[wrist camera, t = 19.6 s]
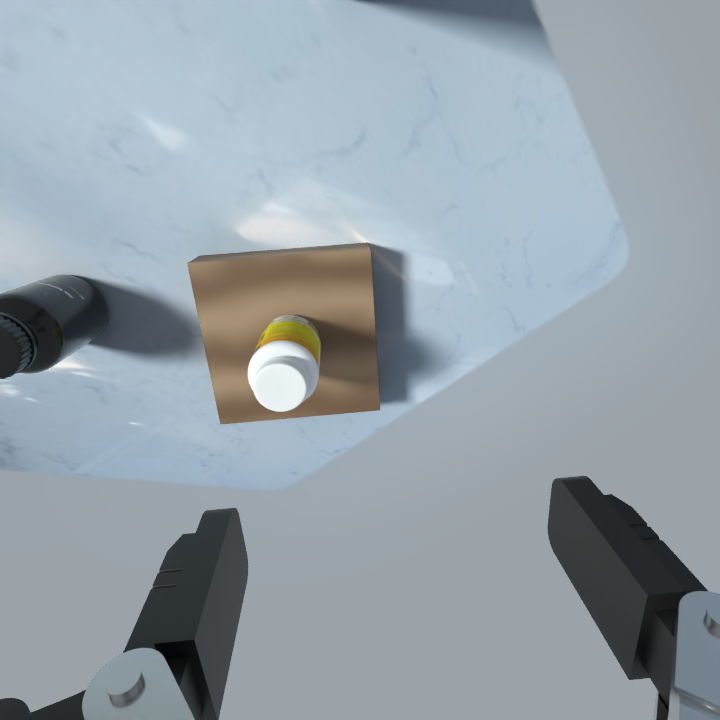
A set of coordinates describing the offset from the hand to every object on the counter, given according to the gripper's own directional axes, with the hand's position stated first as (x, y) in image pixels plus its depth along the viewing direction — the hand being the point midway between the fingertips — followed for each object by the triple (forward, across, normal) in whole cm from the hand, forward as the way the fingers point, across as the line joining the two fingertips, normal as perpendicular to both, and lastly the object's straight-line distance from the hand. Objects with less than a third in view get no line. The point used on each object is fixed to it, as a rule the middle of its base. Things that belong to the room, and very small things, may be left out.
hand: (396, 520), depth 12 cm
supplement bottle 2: (+32, +6, +6) cm, 33 cm away
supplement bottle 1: (+36, +27, +2) cm, 45 cm away
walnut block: (+36, +6, +6) cm, 37 cm away
